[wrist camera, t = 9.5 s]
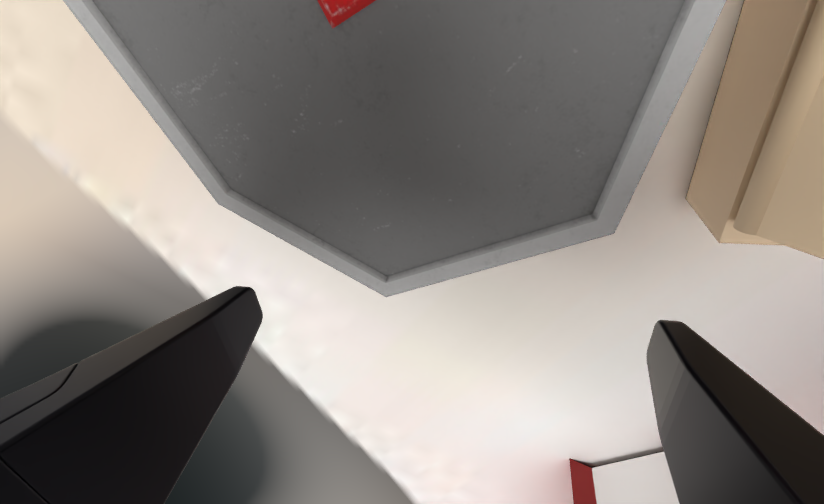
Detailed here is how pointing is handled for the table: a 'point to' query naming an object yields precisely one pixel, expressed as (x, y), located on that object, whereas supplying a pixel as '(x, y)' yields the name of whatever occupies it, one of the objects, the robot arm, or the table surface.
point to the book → (624, 482)
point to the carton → (746, 111)
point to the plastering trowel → (793, 157)
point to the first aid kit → (411, 117)
